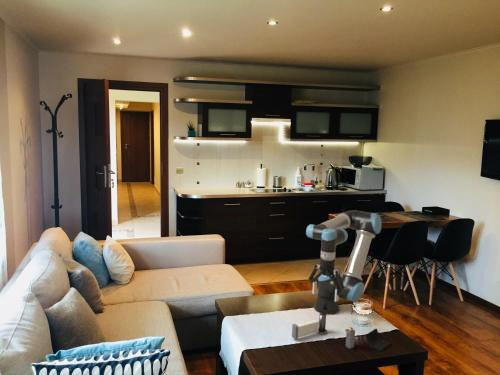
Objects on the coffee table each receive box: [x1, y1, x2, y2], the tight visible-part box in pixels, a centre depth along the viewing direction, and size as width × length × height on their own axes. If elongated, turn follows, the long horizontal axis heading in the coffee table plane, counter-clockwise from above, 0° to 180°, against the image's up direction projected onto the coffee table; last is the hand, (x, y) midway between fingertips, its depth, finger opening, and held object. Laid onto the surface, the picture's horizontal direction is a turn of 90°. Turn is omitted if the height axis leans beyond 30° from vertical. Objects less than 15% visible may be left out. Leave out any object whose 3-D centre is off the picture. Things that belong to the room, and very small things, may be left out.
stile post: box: [344, 326, 356, 349], centre depth 210 cm, size 3×4×10 cm
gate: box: [291, 319, 319, 340], centre depth 219 cm, size 3×15×7 cm, turn 120°
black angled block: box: [364, 328, 392, 353], centre depth 214 cm, size 12×7×10 cm
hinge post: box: [316, 313, 328, 336], centre depth 224 cm, size 6×6×10 cm
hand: (325, 296), depth 220 cm, fingers open, 13 cm apart
